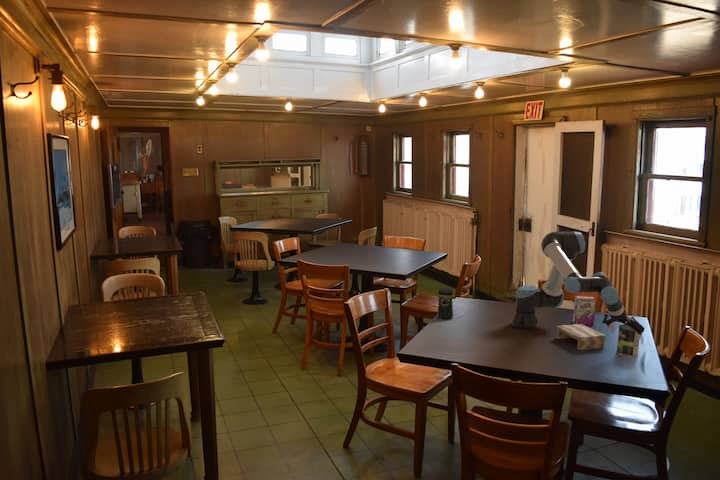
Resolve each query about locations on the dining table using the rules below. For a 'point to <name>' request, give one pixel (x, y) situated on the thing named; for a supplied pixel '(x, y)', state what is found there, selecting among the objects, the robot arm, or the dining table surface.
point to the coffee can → (627, 341)
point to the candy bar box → (584, 310)
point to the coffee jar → (445, 303)
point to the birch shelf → (582, 336)
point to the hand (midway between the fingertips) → (626, 333)
